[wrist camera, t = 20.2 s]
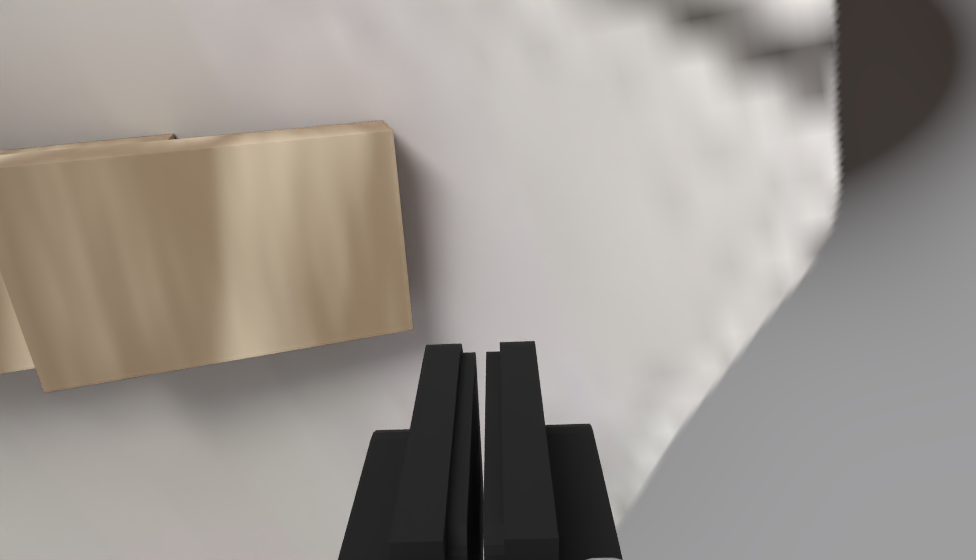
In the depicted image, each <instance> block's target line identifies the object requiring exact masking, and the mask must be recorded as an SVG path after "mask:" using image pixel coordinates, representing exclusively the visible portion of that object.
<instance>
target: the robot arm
mask: <svg viewBox="0 0 976 560" xmlns="http://www.w3.org/2000/svg"><path fill="white" fill-rule="evenodd" d="M483 539H484V560H623V559H622V555H621V551H620V546H619V542H618V538H617V533H616V529H615V524H614V520H613V516H612V511H611V507H610V503H609V498H608V494H607V490H606V485H605V481H604V477H603V472H602V468H601V464H600V459H599V455H598V451H597V446H596V442H595V438H594V433H593V430H592V427H591V425H590V424H566V425H545V421H544V412H543V404H542V396H541V388H540V380H539V372H538V364H537V355H536V347H535V341H525V342H500V352H486V400H485V461H484V492H483V473H482V455H481V438H480V420H479V402H478V384H477V367H476V354H475V352H472V353H463V350H462V344H436V345H426V348H425V352H424V358H423V363H422V368H421V374H420V379H419V384H418V389H417V395H416V400H415V405H414V411H413V416H412V421H411V426H410V429H404V430H376V431H375V432H374V433H373V435H372V438H371V441H370V444H369V448H368V452H367V455H366V459H365V463H364V466H363V470H362V474H361V477H360V481H359V485H358V488H357V492H356V496H355V499H354V503H353V507H352V510H351V514H350V518H349V521H348V525H347V529H346V532H345V536H344V540H343V543H342V547H341V550H340V554H339V558H338V560H483Z"/></svg>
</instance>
